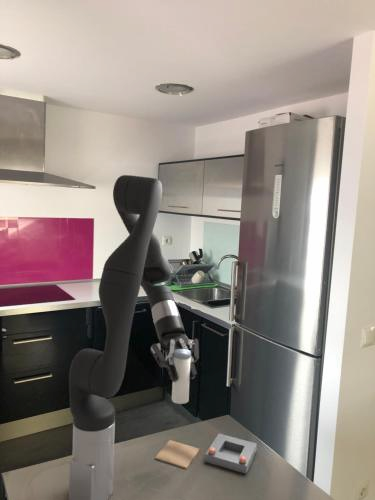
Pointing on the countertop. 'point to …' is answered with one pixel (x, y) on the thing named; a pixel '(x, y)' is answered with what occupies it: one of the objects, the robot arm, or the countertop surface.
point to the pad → (177, 454)
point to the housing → (231, 453)
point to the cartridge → (181, 376)
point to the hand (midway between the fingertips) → (184, 378)
